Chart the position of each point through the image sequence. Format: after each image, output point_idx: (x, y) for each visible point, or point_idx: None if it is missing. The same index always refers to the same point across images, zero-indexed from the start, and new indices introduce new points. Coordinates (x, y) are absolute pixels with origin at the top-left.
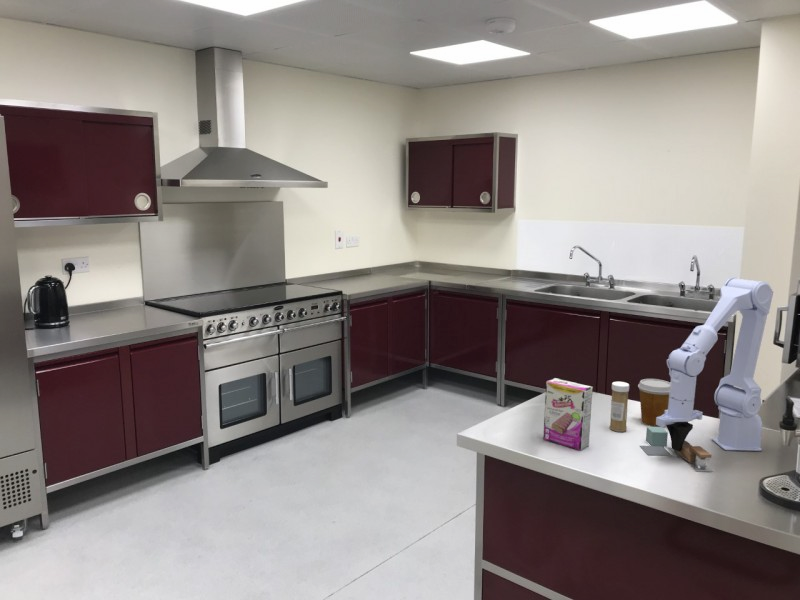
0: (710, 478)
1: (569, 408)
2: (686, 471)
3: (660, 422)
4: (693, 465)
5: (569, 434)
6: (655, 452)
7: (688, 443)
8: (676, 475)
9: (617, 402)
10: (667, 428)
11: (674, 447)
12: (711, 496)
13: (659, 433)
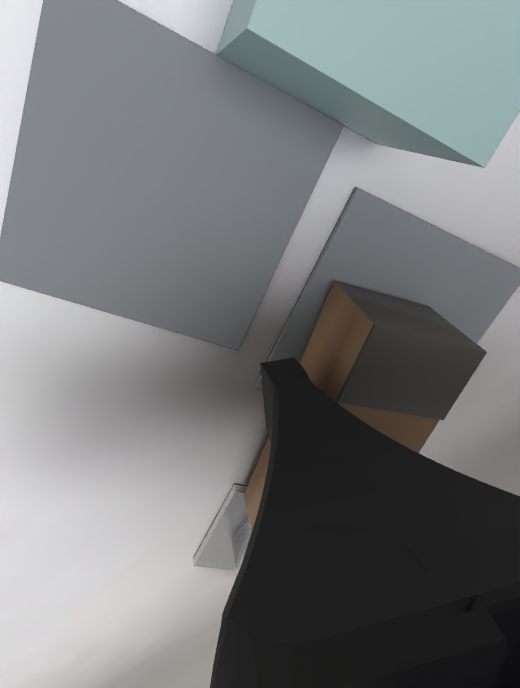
0: (204, 615)
1: None
2: (134, 553)
3: None
4: (235, 521)
5: None
6: (123, 252)
7: (435, 415)
8: (22, 586)
9: None
10: (248, 542)
11: (268, 399)
12: None
13: (366, 99)
